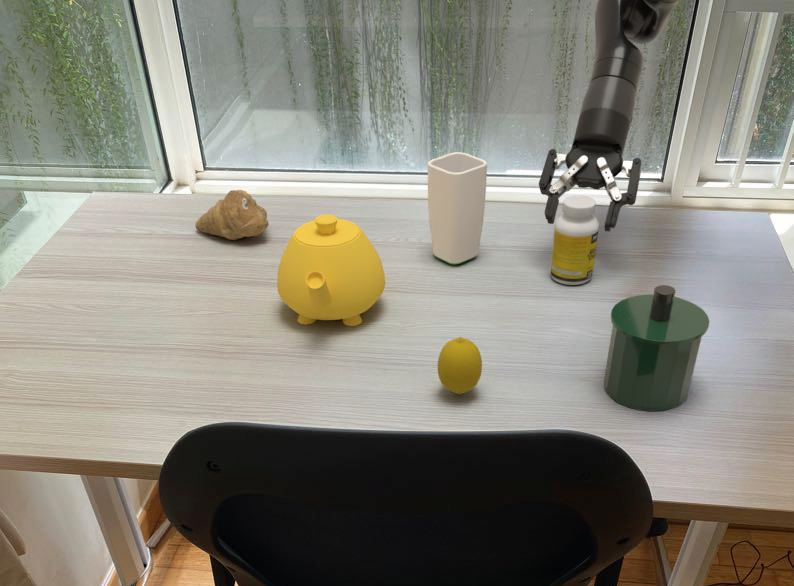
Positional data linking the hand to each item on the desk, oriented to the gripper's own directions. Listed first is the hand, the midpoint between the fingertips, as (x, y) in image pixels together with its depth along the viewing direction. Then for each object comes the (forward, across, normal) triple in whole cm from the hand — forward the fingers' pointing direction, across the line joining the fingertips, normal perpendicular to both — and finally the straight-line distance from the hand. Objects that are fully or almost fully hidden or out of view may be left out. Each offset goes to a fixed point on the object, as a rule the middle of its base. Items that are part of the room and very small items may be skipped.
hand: (578, 225), depth 129 cm
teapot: (+22, -30, -11) cm, 39 cm away
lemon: (+32, -6, -20) cm, 38 cm away
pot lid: (+18, +16, -21) cm, 32 cm away
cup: (+6, -19, +6) cm, 21 cm away
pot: (+25, +16, -14) cm, 33 cm away
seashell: (+8, -57, +3) cm, 58 cm away
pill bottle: (+6, 0, +5) cm, 8 cm away
